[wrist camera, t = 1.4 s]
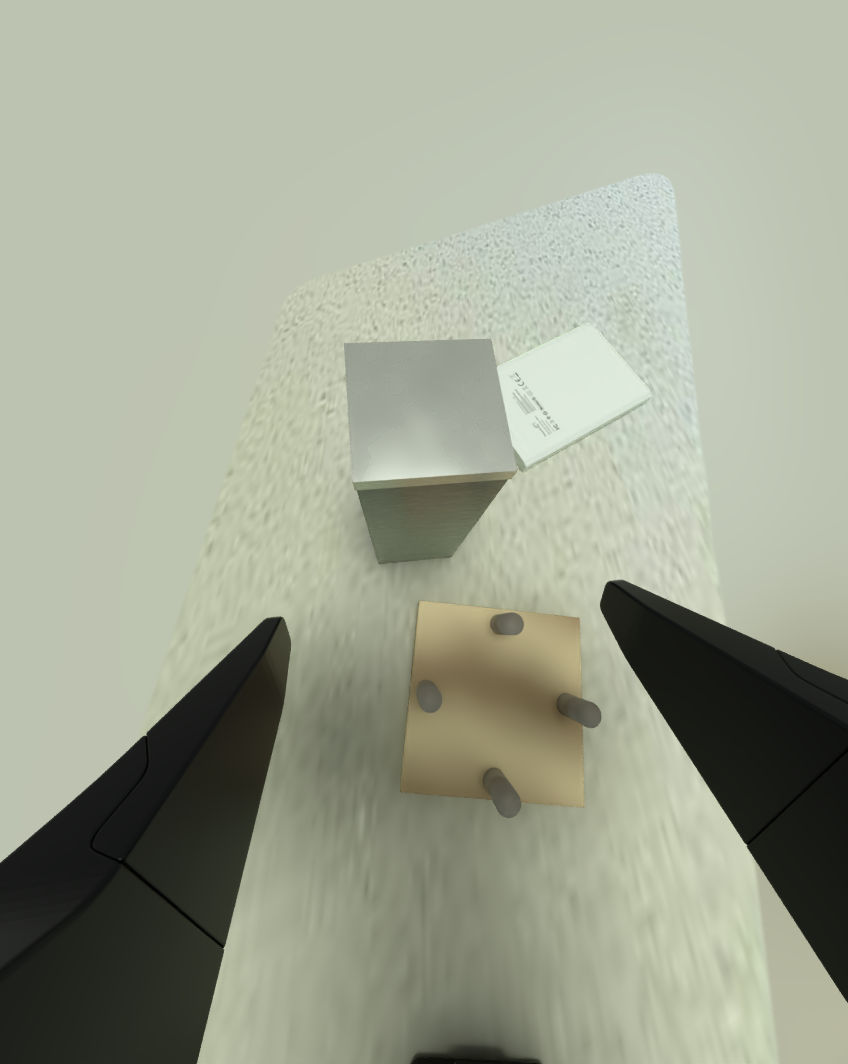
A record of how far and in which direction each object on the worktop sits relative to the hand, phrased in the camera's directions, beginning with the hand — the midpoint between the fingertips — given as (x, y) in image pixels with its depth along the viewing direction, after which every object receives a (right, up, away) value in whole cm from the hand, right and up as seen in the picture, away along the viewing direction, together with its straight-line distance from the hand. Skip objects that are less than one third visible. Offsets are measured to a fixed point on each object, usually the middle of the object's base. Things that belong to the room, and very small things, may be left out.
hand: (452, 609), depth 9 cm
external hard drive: (+10, +13, +18) cm, 24 cm away
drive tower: (-2, +3, +14) cm, 14 cm away
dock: (+3, -8, +11) cm, 14 cm away
